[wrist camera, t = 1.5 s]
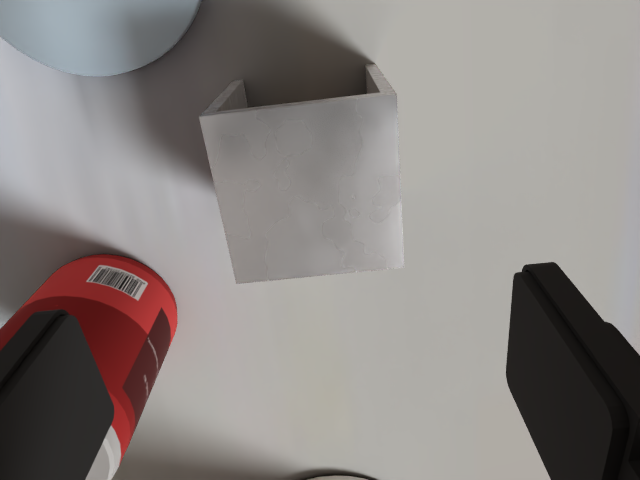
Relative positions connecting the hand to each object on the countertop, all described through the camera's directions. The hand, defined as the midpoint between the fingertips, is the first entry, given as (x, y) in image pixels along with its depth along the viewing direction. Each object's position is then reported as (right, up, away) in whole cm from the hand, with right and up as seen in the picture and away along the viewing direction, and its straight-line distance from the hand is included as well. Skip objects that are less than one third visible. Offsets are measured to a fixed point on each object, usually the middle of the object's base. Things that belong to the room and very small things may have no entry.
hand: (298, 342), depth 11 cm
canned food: (-12, -2, +20) cm, 23 cm away
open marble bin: (0, +7, +15) cm, 17 cm away
